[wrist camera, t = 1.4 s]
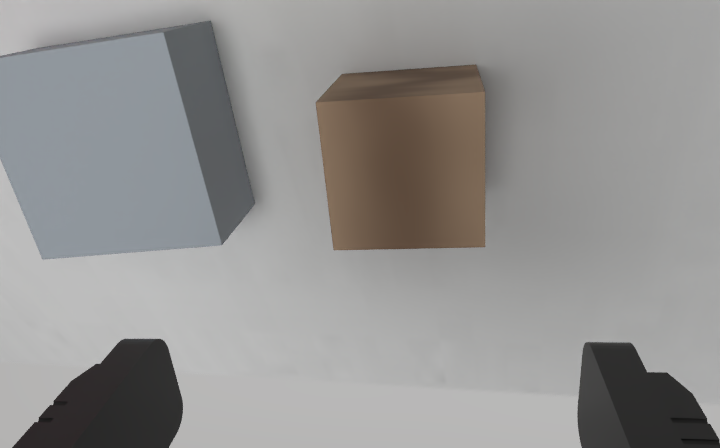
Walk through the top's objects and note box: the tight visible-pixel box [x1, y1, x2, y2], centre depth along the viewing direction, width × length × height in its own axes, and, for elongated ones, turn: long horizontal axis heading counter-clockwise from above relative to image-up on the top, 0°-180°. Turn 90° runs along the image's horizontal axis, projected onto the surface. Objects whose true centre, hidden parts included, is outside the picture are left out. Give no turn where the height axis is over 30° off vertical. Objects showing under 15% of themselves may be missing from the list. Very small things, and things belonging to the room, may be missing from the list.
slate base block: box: [0, 21, 255, 259], centre depth 26 cm, size 9×9×5 cm
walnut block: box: [316, 65, 485, 250], centre depth 24 cm, size 6×6×6 cm
